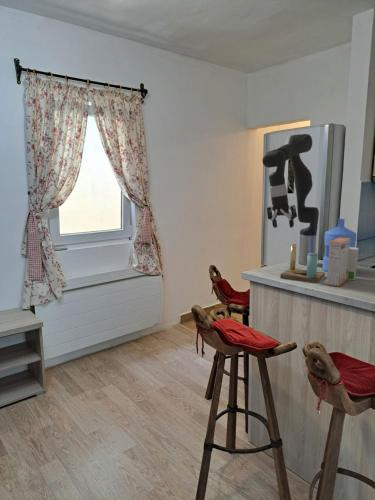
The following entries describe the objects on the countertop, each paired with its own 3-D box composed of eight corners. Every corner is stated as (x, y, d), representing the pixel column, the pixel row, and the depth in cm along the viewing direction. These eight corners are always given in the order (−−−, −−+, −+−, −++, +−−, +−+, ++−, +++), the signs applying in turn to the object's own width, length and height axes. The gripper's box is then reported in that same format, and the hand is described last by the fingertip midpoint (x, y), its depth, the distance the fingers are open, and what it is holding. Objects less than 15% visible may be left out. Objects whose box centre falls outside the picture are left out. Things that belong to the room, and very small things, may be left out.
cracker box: (335, 278, 180) (338, 237, 176) (348, 280, 176) (351, 238, 172) (326, 284, 169) (329, 240, 165) (339, 287, 165) (342, 242, 161)
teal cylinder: (307, 275, 178) (309, 252, 176) (317, 276, 176) (318, 253, 174) (305, 277, 174) (306, 254, 172) (314, 278, 172) (316, 255, 170)
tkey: (291, 270, 187) (292, 243, 184) (311, 272, 181) (313, 245, 178) (288, 272, 183) (289, 245, 180) (309, 274, 177) (310, 246, 174)
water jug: (347, 267, 202) (351, 217, 197) (357, 274, 187) (362, 220, 182) (319, 267, 204) (322, 217, 199) (326, 274, 189) (330, 220, 184)
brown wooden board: (289, 271, 194) (290, 268, 193) (324, 276, 184) (324, 272, 183) (280, 278, 181) (280, 273, 181) (317, 283, 171) (317, 278, 171)
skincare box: (336, 278, 179) (339, 247, 176) (338, 275, 185) (340, 245, 182) (355, 280, 176) (358, 249, 173) (356, 277, 181) (358, 247, 178)
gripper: (296, 191, 168) (300, 225, 172) (269, 193, 177) (274, 225, 182) (288, 195, 162) (293, 229, 167) (261, 197, 172) (266, 229, 177)
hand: (283, 227), depth 174 cm, fingers open, 8 cm apart
